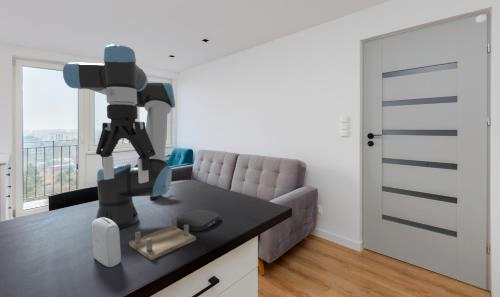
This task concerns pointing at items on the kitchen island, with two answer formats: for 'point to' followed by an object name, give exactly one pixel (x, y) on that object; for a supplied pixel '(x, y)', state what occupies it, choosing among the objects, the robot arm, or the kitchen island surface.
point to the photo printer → (106, 241)
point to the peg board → (162, 241)
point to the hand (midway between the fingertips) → (125, 180)
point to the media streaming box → (197, 219)
